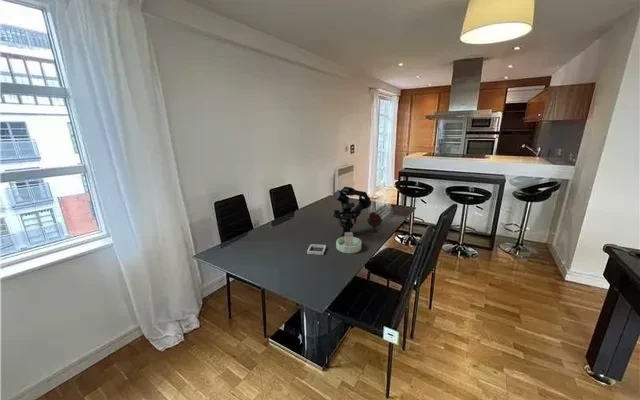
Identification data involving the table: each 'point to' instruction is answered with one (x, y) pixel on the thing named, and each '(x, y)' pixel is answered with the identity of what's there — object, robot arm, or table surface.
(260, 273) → the table surface
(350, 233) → the cream grey rectangular block
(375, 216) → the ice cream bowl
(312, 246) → the square frame
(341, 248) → the serving bowl
